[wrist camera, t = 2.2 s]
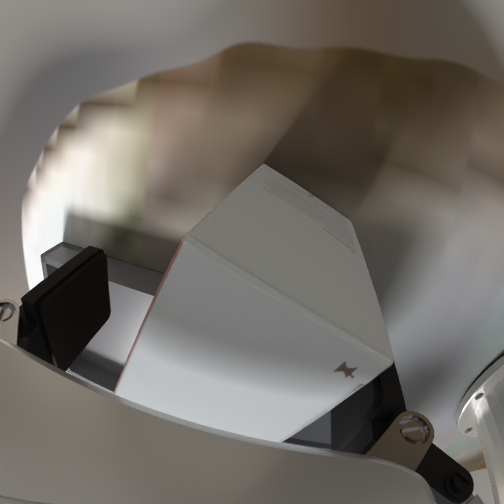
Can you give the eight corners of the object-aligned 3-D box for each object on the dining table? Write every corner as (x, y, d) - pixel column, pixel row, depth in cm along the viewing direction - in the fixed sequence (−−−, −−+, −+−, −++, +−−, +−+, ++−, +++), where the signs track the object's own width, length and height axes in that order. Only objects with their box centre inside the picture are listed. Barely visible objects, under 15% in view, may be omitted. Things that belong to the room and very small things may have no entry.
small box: (264, 160, 15) (182, 225, 6) (354, 221, 15) (404, 362, 6) (195, 275, 19) (103, 405, 9) (272, 322, 19) (235, 474, 9)
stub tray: (179, 278, 19) (163, 299, 17) (174, 394, 24) (164, 415, 22) (62, 241, 20) (40, 254, 17) (81, 355, 25) (67, 371, 23)
